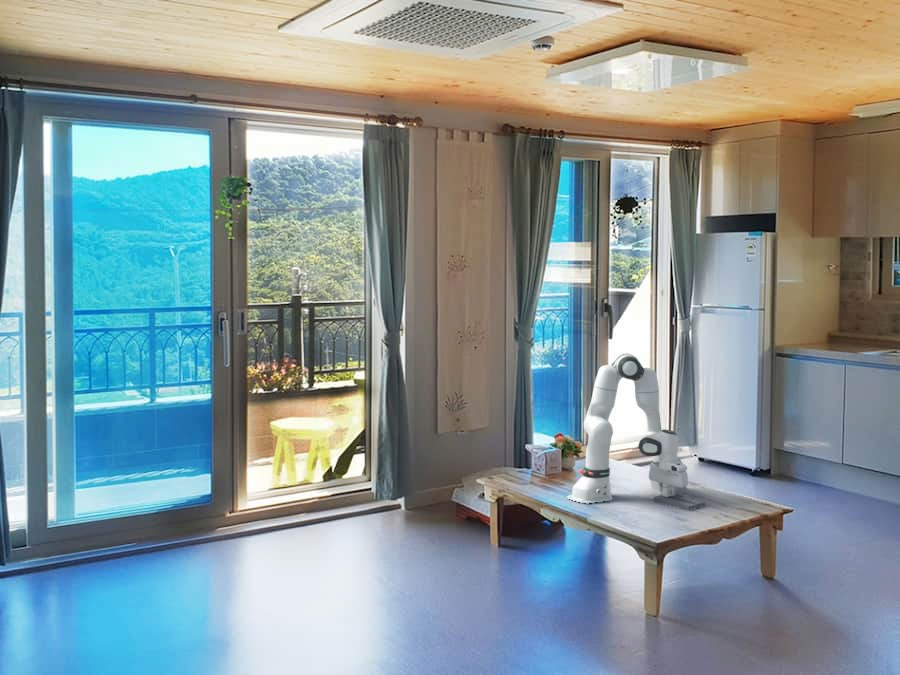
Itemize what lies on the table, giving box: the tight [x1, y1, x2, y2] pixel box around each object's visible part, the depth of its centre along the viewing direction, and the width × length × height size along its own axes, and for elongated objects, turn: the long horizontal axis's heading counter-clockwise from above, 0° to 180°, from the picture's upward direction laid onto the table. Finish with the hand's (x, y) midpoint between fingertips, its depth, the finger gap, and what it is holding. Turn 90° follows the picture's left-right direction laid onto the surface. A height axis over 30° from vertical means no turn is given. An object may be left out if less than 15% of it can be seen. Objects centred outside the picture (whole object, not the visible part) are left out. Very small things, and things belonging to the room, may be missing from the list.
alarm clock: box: [649, 456, 687, 496], centre depth 423 cm, size 21×8×20 cm, turn 18°
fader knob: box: [661, 486, 673, 497], centre depth 411 cm, size 5×3×5 cm, turn 128°
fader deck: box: [652, 494, 706, 511], centre depth 406 cm, size 12×20×2 cm, turn 38°
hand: (667, 493), depth 411 cm, fingers open, 5 cm apart
